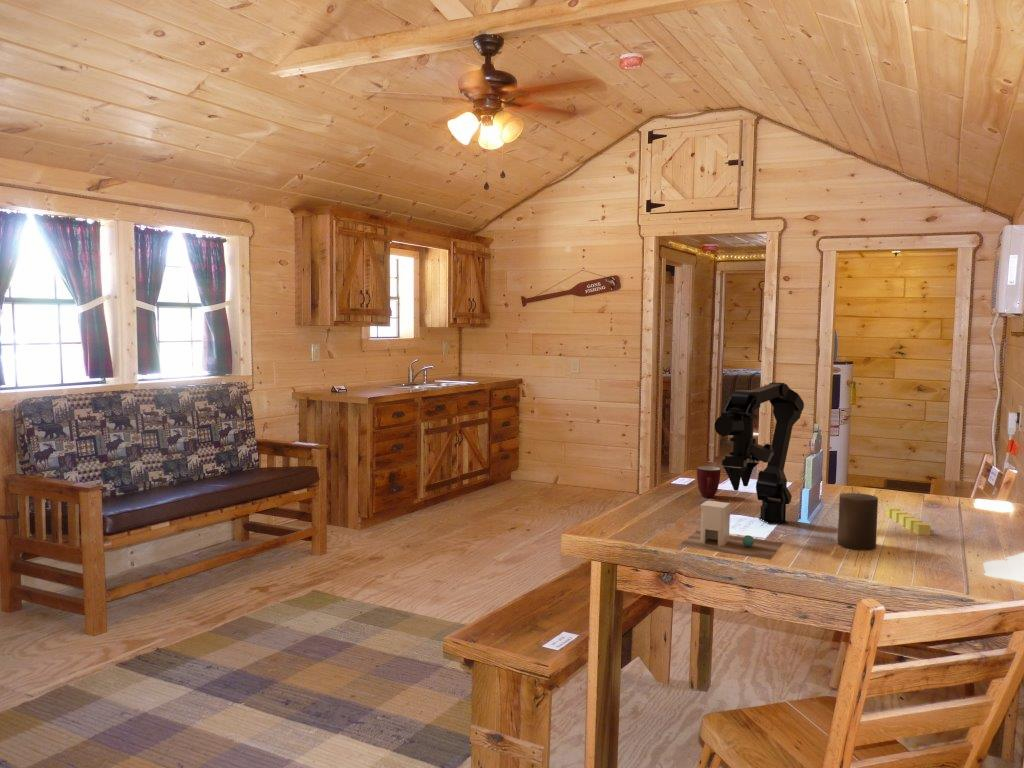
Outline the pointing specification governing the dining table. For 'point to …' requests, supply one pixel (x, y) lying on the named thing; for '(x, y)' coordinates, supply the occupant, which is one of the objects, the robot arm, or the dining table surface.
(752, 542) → the marble
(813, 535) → the dining table surface
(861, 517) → the pillar candle
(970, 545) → the dining table surface
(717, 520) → the cream matte box
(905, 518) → the yellow stair block
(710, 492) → the mug
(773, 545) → the board
